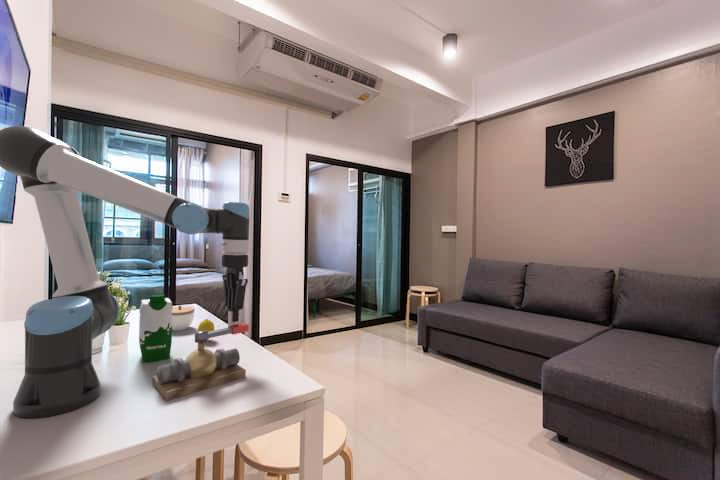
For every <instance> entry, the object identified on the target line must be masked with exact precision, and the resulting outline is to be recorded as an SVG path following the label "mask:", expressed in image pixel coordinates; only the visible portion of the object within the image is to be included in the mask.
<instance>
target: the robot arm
mask: <svg viewBox="0 0 720 480" xmlns="http://www.w3.org/2000/svg"><path fill="white" fill-rule="evenodd" d="M0 168H2V170H4V171H6V172H8V173H11V174H12V175H16V176H18V177H20V180H21V183H22V187H23V191H24V192H26V193H27V194H30V195H31V196H32V197H33V198H34V201H35V205H36V209H37V212H38V215H39V219H40V223H41V227H42V231H43V235H44V240H45V242H46V246H47V249H48V253H49V258H50V261H51V265H52V268H53V271H54V273H53V274H54V276H55V280H56V283H57V289H56V290H55V291H54V293H53V294H52V296H51V297H52V298H51V299H44V300H40V301H38V302H36V303H34V304H32V305H31V306H30V307H29V308H28V309H27V310H26V313H25V320H24V325H23V326H24V330H25V331H24V376H23V378H22V380H21V383H20V385H19V388H18V390H17V392H16V395H15V397H14V400H13V404H12V410H13V411H12V413H13V415H14V414H15V415H14V416H16V417H19V418H23V419H24V418H25V419H37V418H45V417H46V418H47V417H52V416H56V415H61V414H63V413H68V412H71V411H73V410H76V409H79V408H81V407H84V406H86V405H88V404H89V403H92V402H93V401H94V400H96V399H97V398H98V397H99V396H100V394H101V381H100V379H99V376H98V373H97V371H96V369H95V367H94V365H93V362H92V360H93V358H92V357H93V356H92V355H93V340H94V339H96V338H97V337H99V336H100V335H102V334H104V333H105V332H107V331H109V330H110V328H112V326H113V325H114V324H115V323H116V321H117V320H118V318H119V315H120V303H119V301H118V299H117V298H116V297H115V296H114V295H113V294H111V293H110V288H109V285H108V283H107V282H106V281H104V280H101V279H100V278H99V274H98V270H97V267H96V266H97V265H96V262H95V259H94V255H93V250H92V246H91V243H90V242H91V241H90V239H89V235H88V230H87V227H86V222H85V218H84V215H83V211H82V206H81V204H80V198H79V195H78V193H79V192H80V193H83V194H86V195H88V196H91V197H93V198H96V199H99V200H101V201H104V202H107V203H109V204H112V205H114V206H117V207H120V208H122V209H124V210H128V211H130V212H132V213H136V214H138V215H141V216H142V217H146V218H149V219H150V220H153V221H157V222H159V223H161V224H164V225H167V226H169V227H172V228H173V229H177V230H178V232H180V233H183V234H187V235H198V234H222V241H221V243H220V245H221V252H222V253H223V254H222V255H221V266H222V267H223V268H226V271H225V274H222V276H221V278H222V282H223V295H224V297H223V298H224V306H225V307H226V308H227V310H228V314H227V316H228V317H227V328H229V326H231V325H236V324H240V323H239V322H240V310H244V305H245V299H246V298H245V296H246V292H247V291H246V289H247V285H248V282H249V280H248V278H245V277H244V273H245V272H244V268H247V267H248V266H249V255H248V253H249V251H250V250H249V249H250V247H249V246H250V245H249V244H250V238H249V236H250V206H249V205H248V203H245V202H241V201H240V202H238V201H225V202H224V203H223V205H222V207H218V208H217V207H216V208H215V207H203V206H202V205H199V204H198V203H194V202H191V201H188V200H186V199H183V198H180V197H178V196H176V195H174V194H171V193H169V192H166V191H164V190H161V189H159V188H156V187H155V186H152V185H149V184H148V183H145V182H142V181H140V180H138V179H135V178H133V177H130V176H129V175H125V174H123V173H120V172H119V171H116V170H115V169H114V170H113V169H111V168H109V167H106V166H103V165H101V164H98V162H97V163H96V162H94V161H92V160H89V159H87V158H84V157H82V155H81V154H80V153H79V152H78V151H77V149H75V148H74V147H73V146H71V145H70V144H69V143H68V142H66V141H64V140H61V139H59V138H56V137H52V136H50V135H48V134H47V133H45V132H42V131H41V130H39V129H36V128H32V127H29V126H24V125H12V126H8V127H4V128H1V129H0Z"/></svg>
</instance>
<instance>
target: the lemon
mask: <svg viewBox="0 0 720 480" xmlns="http://www.w3.org/2000/svg"><path fill="white" fill-rule="evenodd" d="M201 330H206V331H208V332H209V331H214V330H215V324H214V322H213V321H212V320H210V319H209V318H208V319H207V318H206V319H204V320H202V321H201V322H200V323H199V324H198V327H197V331H201ZM209 339H210V338H208V340H209Z"/></svg>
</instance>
